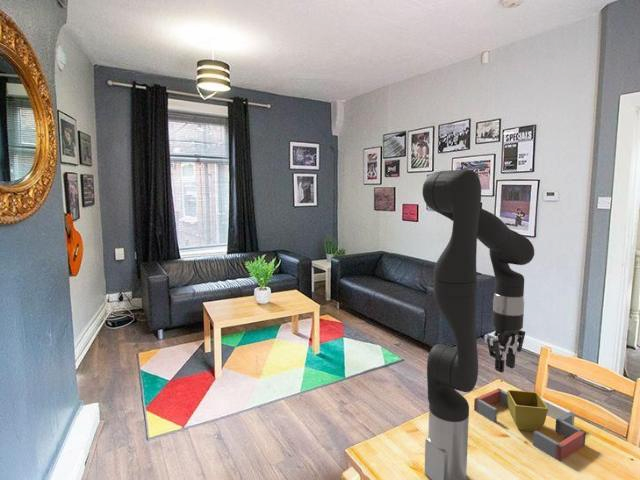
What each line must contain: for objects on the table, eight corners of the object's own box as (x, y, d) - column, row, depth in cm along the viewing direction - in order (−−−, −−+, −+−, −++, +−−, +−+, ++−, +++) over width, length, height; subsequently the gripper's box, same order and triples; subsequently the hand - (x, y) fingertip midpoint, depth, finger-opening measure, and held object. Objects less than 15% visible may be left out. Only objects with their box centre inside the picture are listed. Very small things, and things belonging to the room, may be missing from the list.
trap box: (596, 437, 104) (597, 424, 104) (560, 461, 95) (561, 447, 94) (510, 393, 127) (510, 383, 127) (474, 410, 118) (474, 398, 117)
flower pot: (547, 437, 104) (548, 408, 103) (514, 434, 106) (515, 405, 105) (535, 419, 113) (537, 392, 112) (505, 416, 115) (506, 389, 113)
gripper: (504, 318, 92) (501, 381, 95) (536, 309, 99) (533, 368, 101) (478, 310, 99) (476, 369, 101) (511, 302, 106) (508, 358, 108)
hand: (504, 368), depth 101 cm, fingers open, 4 cm apart
